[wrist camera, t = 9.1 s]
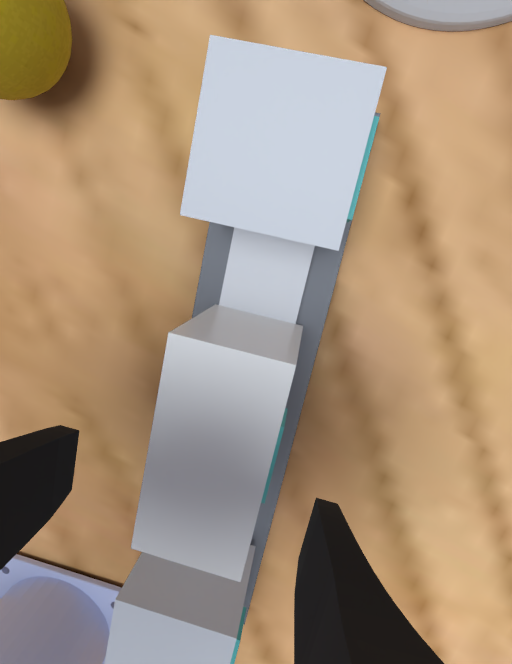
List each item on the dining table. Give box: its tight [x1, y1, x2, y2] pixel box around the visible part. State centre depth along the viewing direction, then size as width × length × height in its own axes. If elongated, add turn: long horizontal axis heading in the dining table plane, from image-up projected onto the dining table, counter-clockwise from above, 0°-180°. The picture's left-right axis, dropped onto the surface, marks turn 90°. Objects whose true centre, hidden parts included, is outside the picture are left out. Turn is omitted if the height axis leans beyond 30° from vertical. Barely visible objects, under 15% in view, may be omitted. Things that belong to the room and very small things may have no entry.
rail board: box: [104, 35, 387, 664], centre depth 18 cm, size 26×6×7 cm, turn 167°
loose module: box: [131, 304, 303, 582], centre depth 16 cm, size 4×8×6 cm, turn 168°
